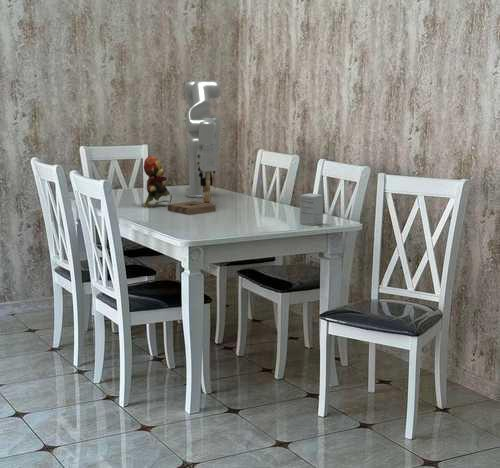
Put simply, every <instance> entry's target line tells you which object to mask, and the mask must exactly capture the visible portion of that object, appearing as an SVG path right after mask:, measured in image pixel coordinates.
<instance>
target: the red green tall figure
mask: <svg viewBox="0 0 500 468" xmlns="http://www.w3.org/2000/svg"><path fill="white" fill-rule="evenodd" d="M143 171H144V173H145V175H146V176H148V177H149V178H148V179H147V181H146V190H147V198H146V201H145V202H144V205H143V207H144V208H145V207H147V208H150V207H151V208H153V207H155V206H156V205H158V204H160V203H168V204H171V202H172V194H171V193H170V191H169V190H168V188H167V186H166V185H164V184H163V182H166V180H167V178H168V177H167V176H164V173H165V170H164V168H162V163H161V161H160V160H159V159H158V158H157V157H155V156H151V155H149V156H148V157H146V158H145V159H144V162H143ZM168 196H170V198H169V199H170V200H161V201H159V199H160V198H161V197H168ZM154 200H155V201H156V202H155V203H154V204H153V205H152V206H151V205H150V202H152V201H154Z"/></svg>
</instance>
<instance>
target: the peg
mask: <svg viewBox="0 0 500 468" xmlns="http://www.w3.org/2000/svg"><path fill="white" fill-rule="evenodd" d="M210 173H211V172H210V171H209V172H205V178H206V186H203V192H205V193H211V185H210Z"/></svg>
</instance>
